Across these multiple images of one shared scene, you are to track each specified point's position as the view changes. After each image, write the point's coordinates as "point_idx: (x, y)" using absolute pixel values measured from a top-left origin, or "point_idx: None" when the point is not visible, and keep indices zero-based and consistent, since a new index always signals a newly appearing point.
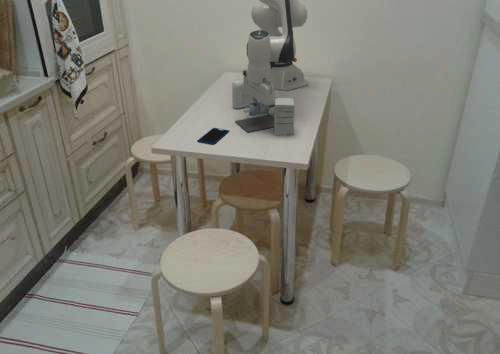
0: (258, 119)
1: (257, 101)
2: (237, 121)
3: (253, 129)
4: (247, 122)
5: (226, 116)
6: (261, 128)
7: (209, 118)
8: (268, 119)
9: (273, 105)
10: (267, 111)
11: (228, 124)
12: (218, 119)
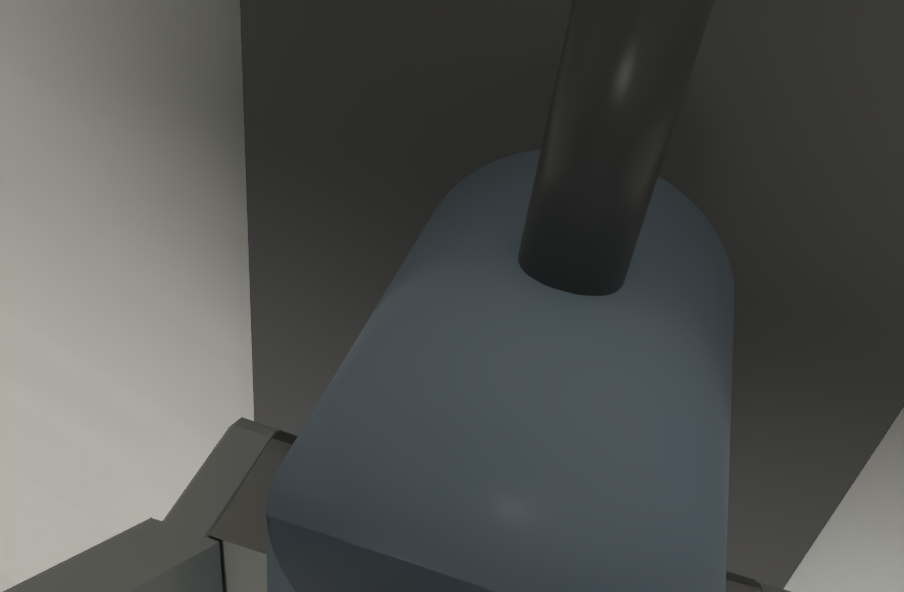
0: (412, 150)
1: (173, 573)
2: None
3: (772, 530)
4: None
5: (10, 375)
6: (870, 428)
7: (24, 527)
8: None
9: (694, 36)
10: (730, 344)
11: None
12: (86, 495)
